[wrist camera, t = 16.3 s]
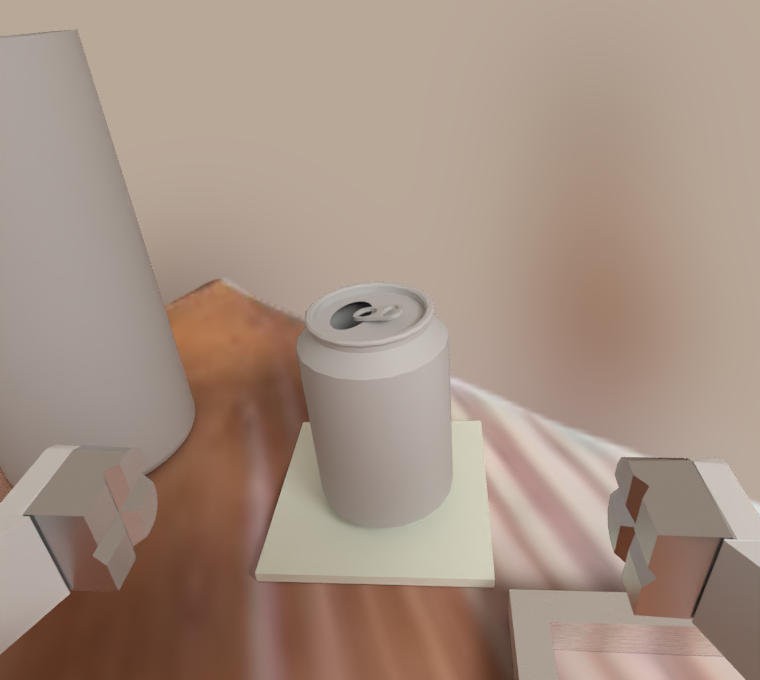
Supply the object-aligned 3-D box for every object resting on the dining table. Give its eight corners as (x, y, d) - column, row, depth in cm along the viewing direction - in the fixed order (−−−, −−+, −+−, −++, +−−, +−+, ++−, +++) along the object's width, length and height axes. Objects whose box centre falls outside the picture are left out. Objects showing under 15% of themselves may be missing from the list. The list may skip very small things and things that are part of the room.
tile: (256, 581, 30) (254, 573, 29) (304, 428, 40) (303, 422, 40) (494, 587, 28) (494, 579, 28) (480, 427, 38) (481, 420, 38)
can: (358, 434, 38) (335, 266, 32) (469, 459, 35) (467, 280, 29) (300, 518, 32) (258, 333, 26) (427, 556, 29) (413, 358, 23)
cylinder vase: (-14, 531, 34) (-308, 71, 21) (31, 410, 45) (-148, 51, 32) (200, 475, 37) (52, 33, 24) (196, 373, 47) (91, 27, 34)
